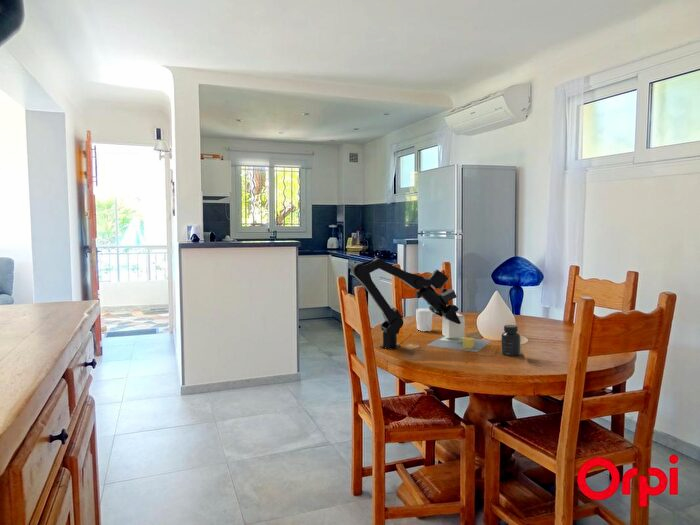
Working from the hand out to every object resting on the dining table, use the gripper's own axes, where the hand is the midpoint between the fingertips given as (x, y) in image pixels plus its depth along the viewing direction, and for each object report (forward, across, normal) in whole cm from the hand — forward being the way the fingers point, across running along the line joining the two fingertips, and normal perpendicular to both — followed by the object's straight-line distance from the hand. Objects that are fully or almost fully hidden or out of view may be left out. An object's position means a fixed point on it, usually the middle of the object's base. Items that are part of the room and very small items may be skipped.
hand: (456, 321), depth 206 cm
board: (+5, -7, +7) cm, 11 cm away
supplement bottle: (+13, -28, 0) cm, 30 cm away
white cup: (+3, +25, +10) cm, 27 cm away
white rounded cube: (+3, 0, +5) cm, 6 cm away
